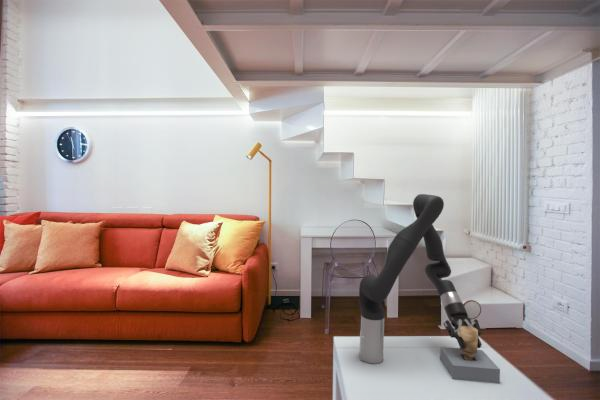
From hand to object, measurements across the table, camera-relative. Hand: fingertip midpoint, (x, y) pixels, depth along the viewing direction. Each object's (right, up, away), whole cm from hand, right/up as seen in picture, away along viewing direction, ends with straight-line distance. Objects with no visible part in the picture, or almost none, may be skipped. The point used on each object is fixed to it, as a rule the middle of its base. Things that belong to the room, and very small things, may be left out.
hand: (471, 347), depth 118 cm
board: (-1, -9, +2) cm, 10 cm away
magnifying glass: (+12, -10, +24) cm, 28 cm away
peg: (0, -6, +2) cm, 7 cm away
